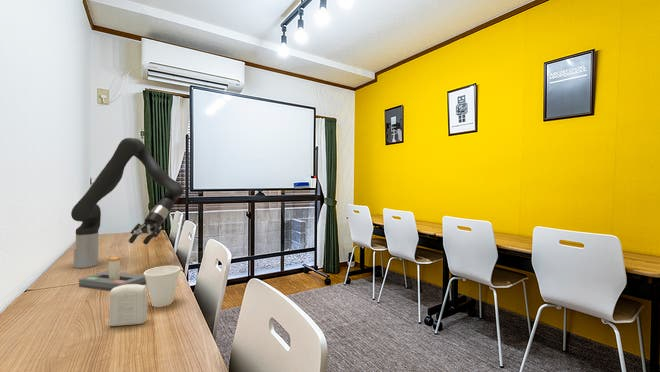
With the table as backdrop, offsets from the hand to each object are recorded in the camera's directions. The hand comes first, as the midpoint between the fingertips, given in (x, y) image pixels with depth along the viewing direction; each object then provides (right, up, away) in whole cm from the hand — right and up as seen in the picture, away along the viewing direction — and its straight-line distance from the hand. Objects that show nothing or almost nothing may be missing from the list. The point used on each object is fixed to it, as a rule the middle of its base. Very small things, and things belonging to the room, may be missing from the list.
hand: (137, 243), depth 138 cm
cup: (+29, -17, -30) cm, 45 cm away
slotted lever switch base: (-3, -16, -11) cm, 19 cm away
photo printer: (+27, -17, -45) cm, 55 cm away
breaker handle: (-3, -15, -11) cm, 18 cm away
